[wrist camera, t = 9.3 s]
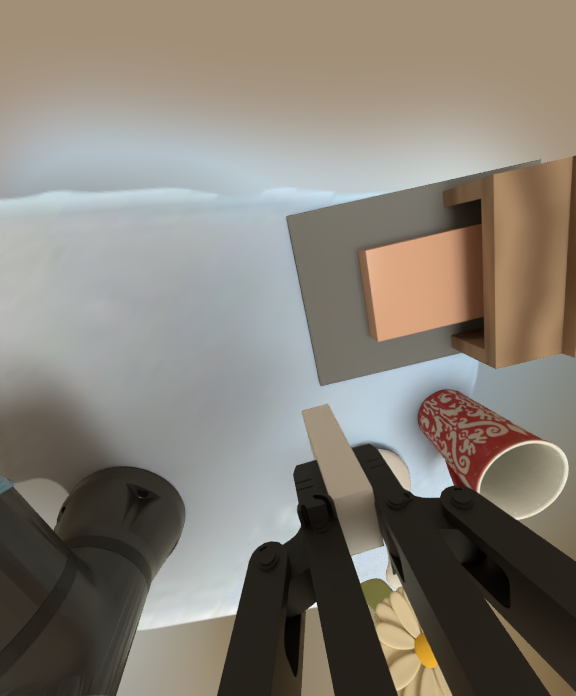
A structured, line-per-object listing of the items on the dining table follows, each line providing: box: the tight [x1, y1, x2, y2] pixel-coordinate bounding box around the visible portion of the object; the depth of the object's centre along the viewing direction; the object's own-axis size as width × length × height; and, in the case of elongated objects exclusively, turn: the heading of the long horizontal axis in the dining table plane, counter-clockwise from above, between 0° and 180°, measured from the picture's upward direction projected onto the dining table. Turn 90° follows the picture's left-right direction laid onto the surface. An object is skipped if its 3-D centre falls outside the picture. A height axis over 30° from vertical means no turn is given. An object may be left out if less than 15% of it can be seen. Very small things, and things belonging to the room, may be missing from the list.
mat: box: [287, 160, 541, 386], centre depth 36 cm, size 28×20×1 cm
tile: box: [358, 223, 484, 342], centre depth 35 cm, size 14×10×3 cm
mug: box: [418, 390, 568, 520], centre depth 36 cm, size 13×9×14 cm
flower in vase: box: [361, 449, 452, 696], centre depth 32 cm, size 13×11×25 cm
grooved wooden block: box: [443, 156, 576, 369], centre depth 32 cm, size 9×18×9 cm, turn 12°
